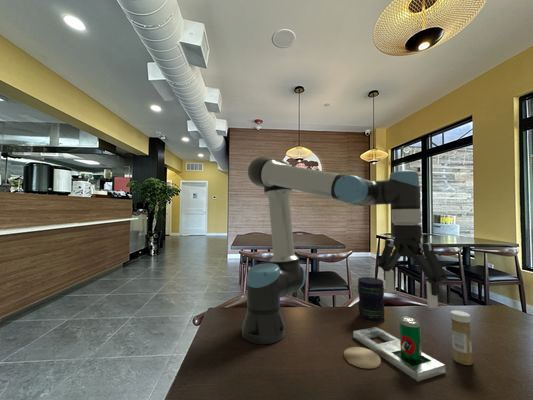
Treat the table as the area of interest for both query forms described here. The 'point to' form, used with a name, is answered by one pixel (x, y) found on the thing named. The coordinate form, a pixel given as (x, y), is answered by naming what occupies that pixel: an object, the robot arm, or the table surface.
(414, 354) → the soda can
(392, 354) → the white flat rectangular frame
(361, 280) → the dark blue canister
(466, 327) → the sprinkles bottle
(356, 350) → the coaster
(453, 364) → the table surface
